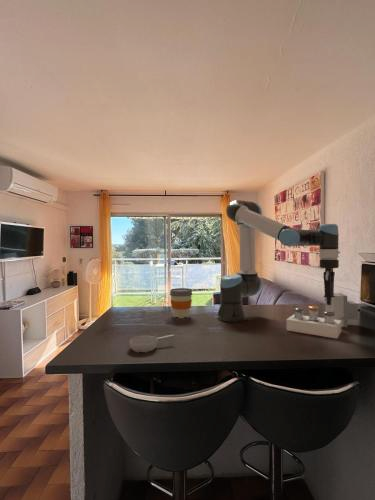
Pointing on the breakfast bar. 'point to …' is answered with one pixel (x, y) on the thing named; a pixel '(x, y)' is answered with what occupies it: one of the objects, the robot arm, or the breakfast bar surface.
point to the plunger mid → (313, 313)
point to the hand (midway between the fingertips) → (329, 311)
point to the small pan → (145, 343)
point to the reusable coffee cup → (181, 302)
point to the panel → (314, 326)
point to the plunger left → (299, 313)
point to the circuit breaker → (344, 309)
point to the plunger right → (329, 317)
